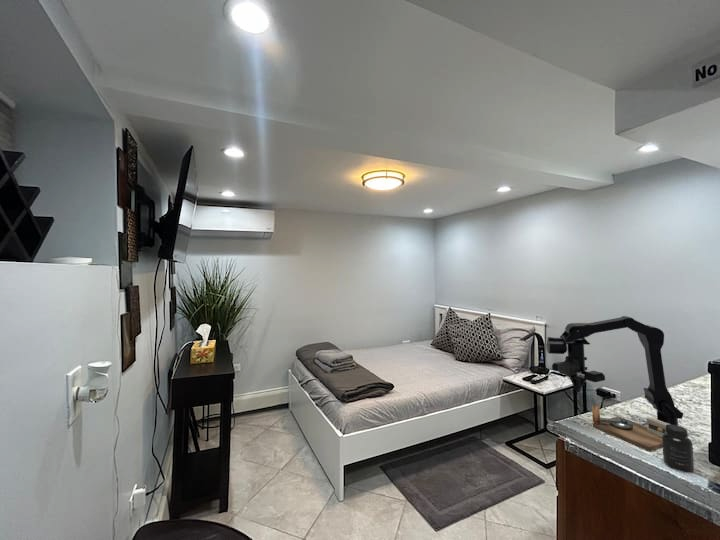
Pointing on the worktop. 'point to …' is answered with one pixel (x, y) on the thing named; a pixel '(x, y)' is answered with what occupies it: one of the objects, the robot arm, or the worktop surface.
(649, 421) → the stand
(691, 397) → the worktop surface
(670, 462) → the supplement bottle
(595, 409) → the cam lever
